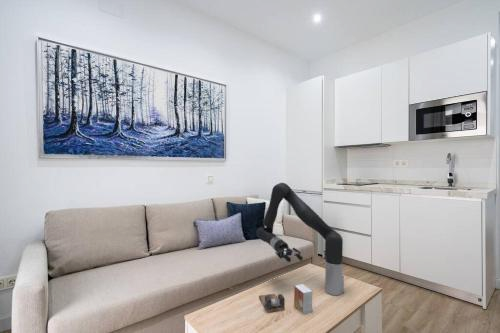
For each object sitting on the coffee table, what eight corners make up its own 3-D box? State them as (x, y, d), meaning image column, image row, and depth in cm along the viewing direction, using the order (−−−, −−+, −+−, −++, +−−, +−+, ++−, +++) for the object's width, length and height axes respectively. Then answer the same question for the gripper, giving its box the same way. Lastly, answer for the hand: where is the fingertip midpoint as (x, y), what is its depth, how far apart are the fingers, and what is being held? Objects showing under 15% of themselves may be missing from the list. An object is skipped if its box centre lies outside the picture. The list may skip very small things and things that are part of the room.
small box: (293, 305, 125) (294, 285, 124) (302, 303, 127) (303, 283, 127) (303, 314, 117) (303, 293, 117) (312, 312, 119) (312, 290, 119)
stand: (274, 295, 134) (274, 284, 134) (284, 310, 120) (284, 298, 120) (259, 297, 132) (259, 286, 132) (267, 313, 118) (267, 300, 118)
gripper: (270, 239, 141) (287, 254, 128) (289, 238, 149) (307, 252, 135) (267, 251, 142) (284, 267, 129) (286, 250, 150) (304, 264, 136)
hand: (296, 259), depth 132 cm, fingers open, 8 cm apart
